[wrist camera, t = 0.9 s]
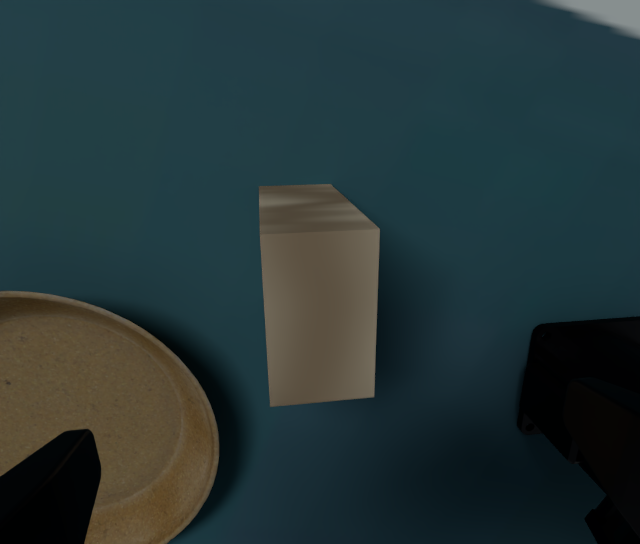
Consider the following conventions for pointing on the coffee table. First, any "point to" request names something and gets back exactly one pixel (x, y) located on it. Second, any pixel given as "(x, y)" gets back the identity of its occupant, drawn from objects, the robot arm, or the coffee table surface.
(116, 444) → the plant saucer
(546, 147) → the coffee table surface
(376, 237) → the taupe streaky block
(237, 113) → the coffee table surface
